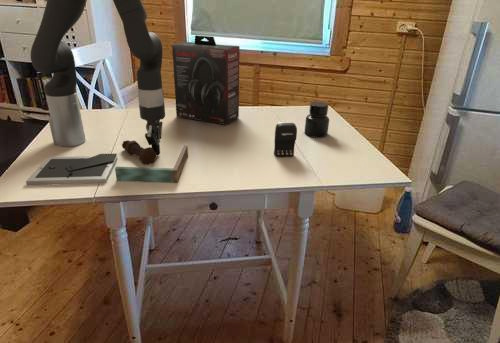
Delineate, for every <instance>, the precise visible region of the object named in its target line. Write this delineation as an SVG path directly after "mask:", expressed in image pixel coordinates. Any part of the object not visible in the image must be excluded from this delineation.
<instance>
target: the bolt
mask: <svg viewBox="0 0 500 343" xmlns="http://www.w3.org/2000/svg"><path fill="white" fill-rule="evenodd" d="M121 147H122V149H124V150H125V151H126V153H127V154H128V155H129V156H136V157H138V158H137V159H138V160H139V161H140V162H141V164H142V165H145V166H147V165H151V164H153V163H155V161H156V159H157V156H158V155H157V154H156V152H155V151H154V150H153V149H152V146H149V147H145V148H144V147H142V146H141V145H140V144H139V142H137V141H136V140H128V139H127V140H123V142H122V143H121Z"/></svg>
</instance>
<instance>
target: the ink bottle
mask: <svg viewBox="0 0 500 343" xmlns="http://www.w3.org/2000/svg"><path fill="white" fill-rule="evenodd" d="M328 111H329V104H328V103H327V102H324V101H311V102H310V104H309V114H307V116H306V117H305V124H304V134H305V135H307V136H308V137H311V138H324V137H327V136H328V133H329V125H330V118H329V116H328Z"/></svg>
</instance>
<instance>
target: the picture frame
mask: <svg viewBox="0 0 500 343" xmlns="http://www.w3.org/2000/svg"><path fill="white" fill-rule="evenodd" d="M117 154H118V153H99V154H96V155H81V156H77V155H76V156H46V158H45V159H44V160H43V161H42V163H41V164H39V166H38V167H37V168H36V169H35V170H34V171H33V172H32V174H31V175H30V176H29V177H28V178H27V179H26V181H25V182H26V185H27V186H50V185H51V186H53V184H60V185H90V184H93V185H94V184H107V183H108V181H109V178H110V176H111V175H112V173H113V171H114V169H115V167H116V164H117V162H118V159H119V158H118V155H117Z"/></svg>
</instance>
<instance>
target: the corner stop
mask: <svg viewBox="0 0 500 343" xmlns="http://www.w3.org/2000/svg"><path fill="white" fill-rule="evenodd" d="M188 147H189V146H188V145H187V144H183V146H182V148H181V150H180V152H179V155H178V157H177V160H176V162H175V164H174V166H173V168H171V167H170V168H169V167H168V168H167V167H164V168H163V167H141V166H140V167H139V166H137V167H136V166H115V167H114V172H115V178H116V182H135V183H162V184H163V183H164V184H165V183H166V184H167V183H168V184H178V183H179V180H180V179H181V175H182V173H183V171H184V168H185V166H186V163H187V160H188V158H189V148H188Z"/></svg>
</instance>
